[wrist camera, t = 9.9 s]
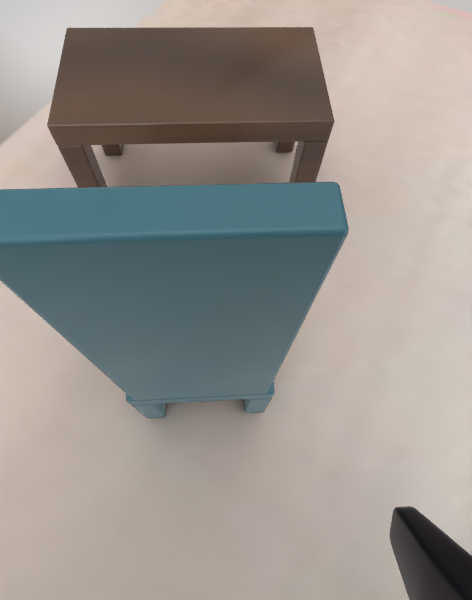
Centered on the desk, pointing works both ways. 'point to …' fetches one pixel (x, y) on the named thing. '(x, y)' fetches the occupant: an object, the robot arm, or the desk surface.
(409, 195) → the desk surface
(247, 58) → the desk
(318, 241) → the chair
